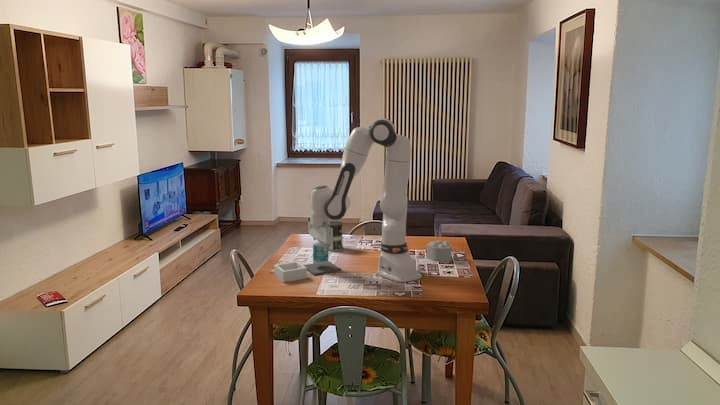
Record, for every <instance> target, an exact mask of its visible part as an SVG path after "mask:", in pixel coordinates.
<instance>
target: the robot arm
mask: <svg viewBox="0 0 720 405" xmlns="http://www.w3.org/2000/svg"><path fill="white" fill-rule="evenodd" d="M374 144H378V145H381V146H383V147H384V148H386V156H385V164H384V165H385V166H384V176H383V182H382V186H381V193H380V201H379V208H380V211H381V212H382V224H381V243H380V250H381V252H380V254H379V257H378V265H377V270H376V271H375V275H376V276H380V277H382V278H385V279H387V280H391V281H393V282H396V283H407V282H413V281H417V280H419V279H421V278H422V277H423V276H422V275H423V274H421V273H420V272H418V271H417V261H416V259H413V258H412V256H411V255H410V253H409V252H408V251H409V246H408V244H407V243H408V242H407V241H406V240H407V238H406V237H407V234H406V233H407V232H406V231H407V215H408V201H409V200H408V199H409V198H408V195H407V190H408V184H409V178H410V168H411V160H412V159H411V158H412V156H411V155H412V148H411V141H410V138H408V137H407V136H405V135H402V134H398V133H397V132H396V127H395V124H394V122H392V121H391V119H390V118H385V117H382V118H381V117H380V118H378V119H376V120H375V121H373V122H372V123H371V125H369V126H368V127H367V128H366V127H363V126H358V127H355V128H353V130H352V131H351V133H350V135H349V137H348V139H347V141H346V143H345V145H344V149H343V153H342V157H341V158H342V159H341V164H340V169H339V174H338V177H337V180H336V183H335V185H334V186H335V187H334V189H332V188H330V187H329V186H328V185H320V186H315V187H314V188H313V189H312V190H311V194H310V207H311V212H310V215H309V216H307V218H306V219H307V223H308V224H307V229H308V234H309V236H311V237H312V239H313V241H314V240H316V236H318V239H319V240H320V241H321V242H323V244H324V246H323V247H322V248H323V251H327V247H328V244H332V243H333V231H332V228H331V227H330V225H329V224H330V221H338V220H341V219H342V218H344V216H345V215H346V213H347V211H348V209H349V207H350V205H351V201H350V198H349V196H348V194H349V191H350V189H351V185H352V183H353V181H354V179H355V178H356V176H357V175H358V174H359V172H361V170H362V169H363V167H364V165H365V163H366V161H367V159H368V157H369V154H370V150H371V147H372V146H373V145H374Z"/></svg>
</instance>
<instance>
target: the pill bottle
mask: <svg viewBox="0 0 720 405" xmlns="http://www.w3.org/2000/svg"><path fill="white" fill-rule="evenodd" d="M323 246H324V244H323V242H321V241H320V240H319V239H318V236H316V240H314V239H313V242H312V264H313V263H314V264H316V265H325V264H327V263H328V261H329V254H330V253H329V252H330V251H329V244H328V247H327V251H323V248H322V247H323Z"/></svg>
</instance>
